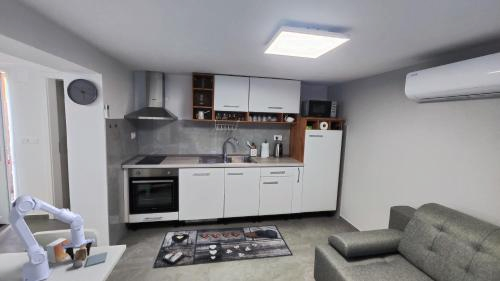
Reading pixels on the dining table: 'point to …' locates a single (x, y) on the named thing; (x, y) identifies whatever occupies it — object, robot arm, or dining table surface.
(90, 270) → the dining table surface
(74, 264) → the rubber puck
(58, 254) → the small box
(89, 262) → the slate board
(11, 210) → the robot arm
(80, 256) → the walnut block
